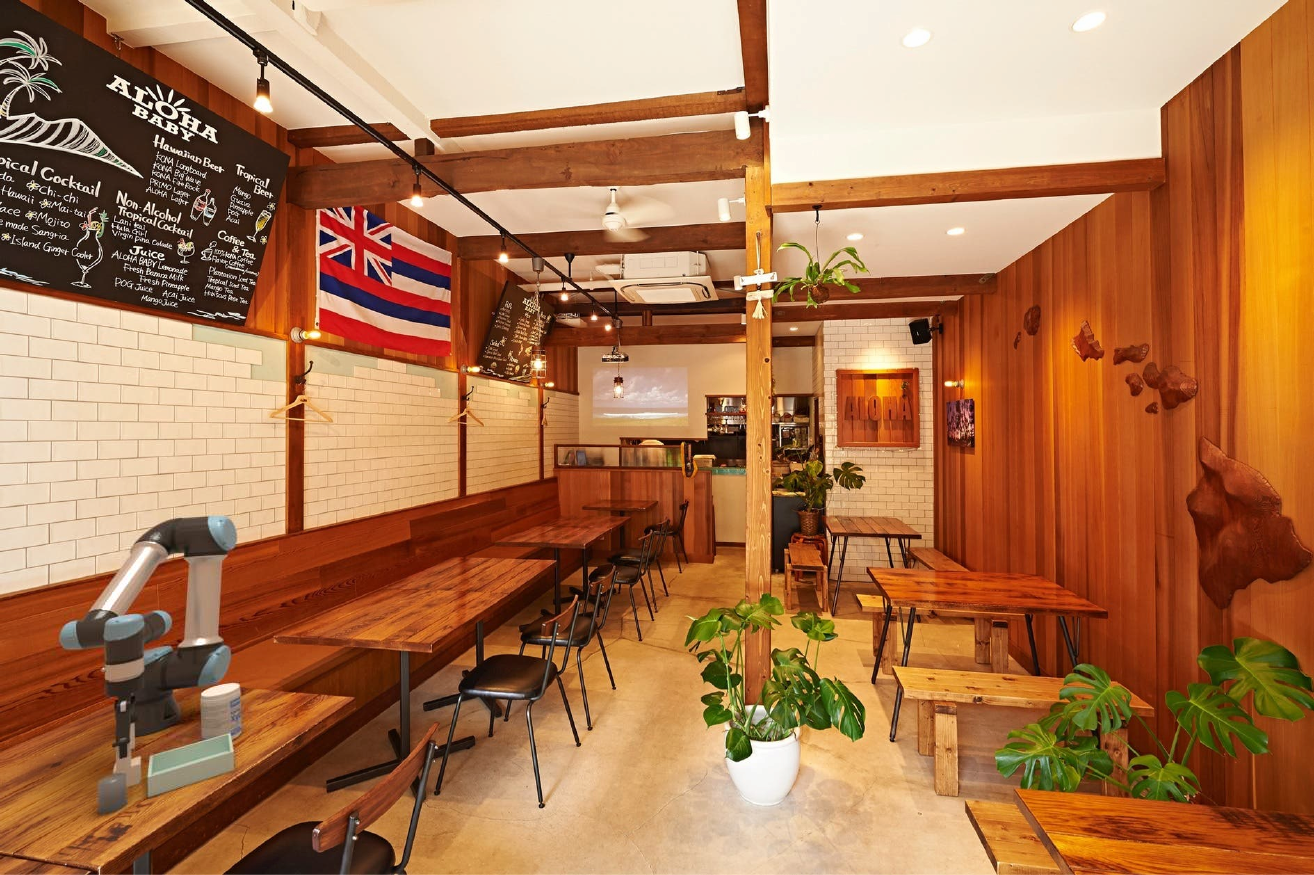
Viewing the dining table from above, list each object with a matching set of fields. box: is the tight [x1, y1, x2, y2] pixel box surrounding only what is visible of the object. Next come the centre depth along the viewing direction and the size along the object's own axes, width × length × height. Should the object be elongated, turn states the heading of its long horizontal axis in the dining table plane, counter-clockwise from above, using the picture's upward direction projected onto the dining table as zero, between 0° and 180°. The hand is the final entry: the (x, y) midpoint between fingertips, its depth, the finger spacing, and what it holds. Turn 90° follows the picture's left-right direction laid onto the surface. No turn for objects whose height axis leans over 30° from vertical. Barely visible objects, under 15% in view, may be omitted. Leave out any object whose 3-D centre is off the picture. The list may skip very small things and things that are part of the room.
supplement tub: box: [200, 682, 243, 741], centre depth 169 cm, size 10×10×15 cm
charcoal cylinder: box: [97, 773, 128, 816], centre depth 138 cm, size 5×5×7 cm
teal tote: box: [147, 733, 235, 798], centre depth 152 cm, size 13×17×5 cm
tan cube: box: [112, 756, 142, 788], centre depth 148 cm, size 5×5×5 cm
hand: (125, 759), depth 148 cm, fingers open, 13 cm apart
